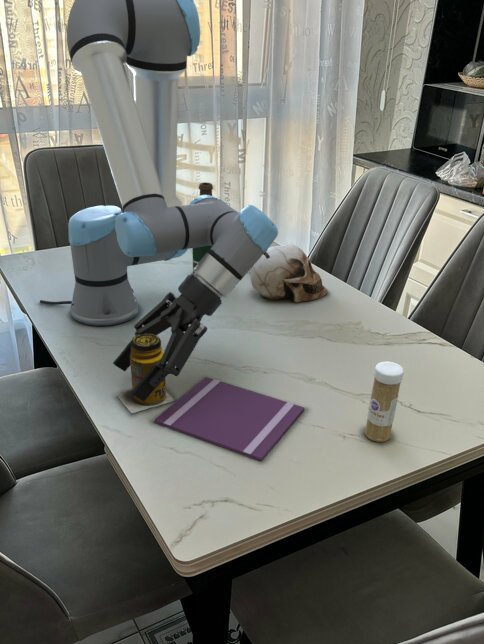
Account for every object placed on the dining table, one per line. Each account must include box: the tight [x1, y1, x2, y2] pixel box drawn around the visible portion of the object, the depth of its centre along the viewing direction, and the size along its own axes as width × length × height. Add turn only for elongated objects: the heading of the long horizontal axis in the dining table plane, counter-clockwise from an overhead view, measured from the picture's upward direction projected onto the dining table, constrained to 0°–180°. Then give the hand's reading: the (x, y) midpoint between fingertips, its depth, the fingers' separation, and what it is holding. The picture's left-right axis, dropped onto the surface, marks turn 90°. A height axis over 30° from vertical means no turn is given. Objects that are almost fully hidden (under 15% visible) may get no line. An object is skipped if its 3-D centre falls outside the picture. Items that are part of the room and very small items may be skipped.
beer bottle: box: [192, 182, 214, 275], centre depth 155 cm, size 8×8×24 cm
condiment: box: [115, 334, 175, 414], centre depth 108 cm, size 7×8×12 cm
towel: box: [153, 376, 305, 462], centre depth 107 cm, size 21×17×1 cm
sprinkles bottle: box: [364, 360, 405, 443], centre depth 100 cm, size 5×5×13 cm
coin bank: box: [250, 243, 328, 303], centre depth 150 cm, size 16×17×13 cm
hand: (127, 381), depth 107 cm, fingers open, 10 cm apart
